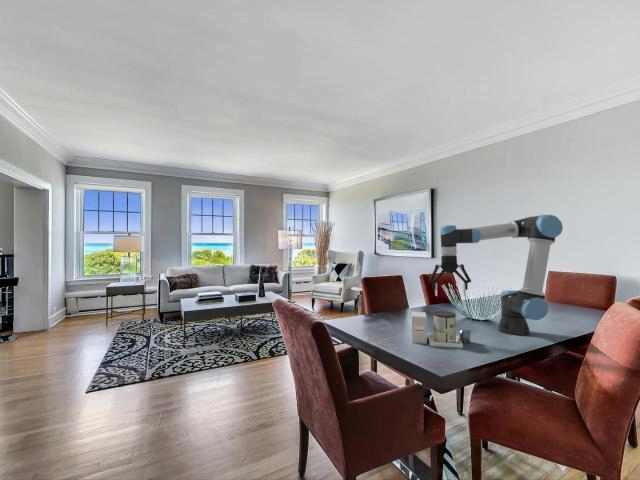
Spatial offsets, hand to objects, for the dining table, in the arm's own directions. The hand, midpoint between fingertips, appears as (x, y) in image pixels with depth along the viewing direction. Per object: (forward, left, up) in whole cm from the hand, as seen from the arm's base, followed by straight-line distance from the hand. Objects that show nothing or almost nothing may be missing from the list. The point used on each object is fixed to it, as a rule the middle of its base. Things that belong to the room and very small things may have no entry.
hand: (450, 295), depth 163 cm
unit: (+16, +7, -22) cm, 28 cm away
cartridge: (-6, +5, -22) cm, 23 cm away
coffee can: (+4, +9, -22) cm, 24 cm away
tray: (+4, +9, -22) cm, 24 cm away
